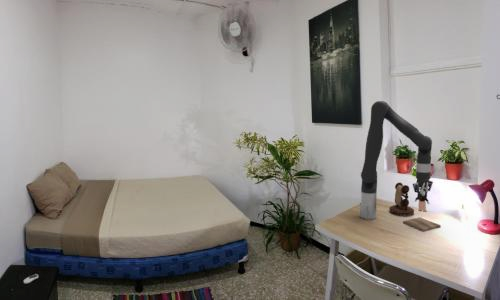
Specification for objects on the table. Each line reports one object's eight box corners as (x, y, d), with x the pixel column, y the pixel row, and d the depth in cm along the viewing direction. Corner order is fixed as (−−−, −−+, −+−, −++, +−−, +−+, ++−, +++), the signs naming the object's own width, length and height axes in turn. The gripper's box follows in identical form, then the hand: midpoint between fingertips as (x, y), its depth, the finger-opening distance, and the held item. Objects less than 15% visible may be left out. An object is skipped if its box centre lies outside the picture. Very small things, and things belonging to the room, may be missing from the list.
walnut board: (422, 231, 169) (423, 229, 169) (402, 223, 182) (402, 221, 182) (440, 227, 174) (440, 225, 174) (419, 219, 187) (419, 217, 187)
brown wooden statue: (384, 209, 205) (385, 181, 202) (404, 208, 207) (405, 180, 204) (397, 217, 191) (398, 187, 188) (419, 215, 192) (420, 186, 189)
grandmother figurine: (429, 211, 177) (429, 190, 175) (428, 213, 173) (429, 191, 172) (414, 209, 181) (415, 188, 179) (413, 211, 178) (414, 190, 176)
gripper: (426, 167, 179) (425, 195, 182) (408, 170, 174) (407, 198, 177) (438, 170, 172) (436, 198, 175) (420, 173, 167) (418, 202, 170)
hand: (422, 198), depth 176 cm, fingers closed on grandmother figurine, 3 cm apart
